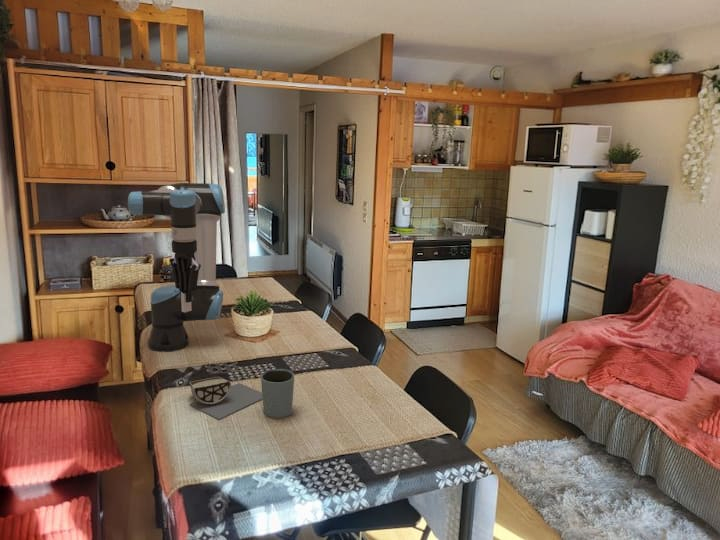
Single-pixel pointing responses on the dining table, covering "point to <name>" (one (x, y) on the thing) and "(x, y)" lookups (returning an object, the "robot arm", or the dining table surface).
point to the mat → (230, 402)
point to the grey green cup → (277, 392)
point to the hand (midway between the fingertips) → (186, 310)
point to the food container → (210, 389)
